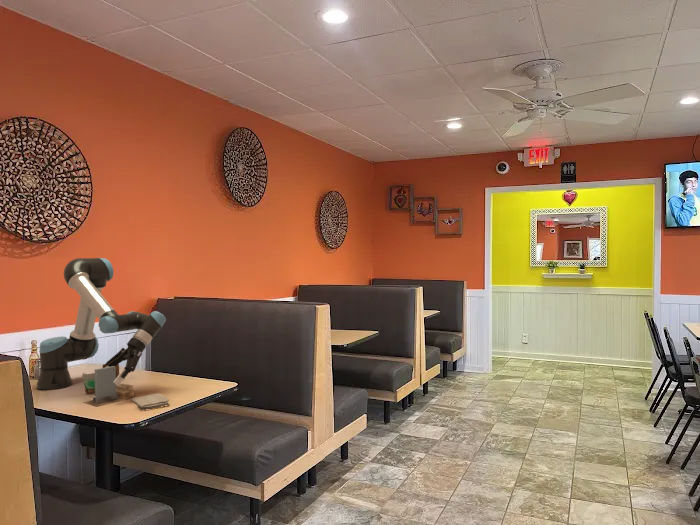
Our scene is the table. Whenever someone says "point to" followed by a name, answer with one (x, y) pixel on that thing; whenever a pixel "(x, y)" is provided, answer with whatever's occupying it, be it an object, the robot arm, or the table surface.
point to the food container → (89, 383)
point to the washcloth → (150, 401)
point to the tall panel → (105, 382)
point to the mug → (115, 367)
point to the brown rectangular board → (106, 400)
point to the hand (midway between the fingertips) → (107, 382)
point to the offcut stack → (125, 391)
